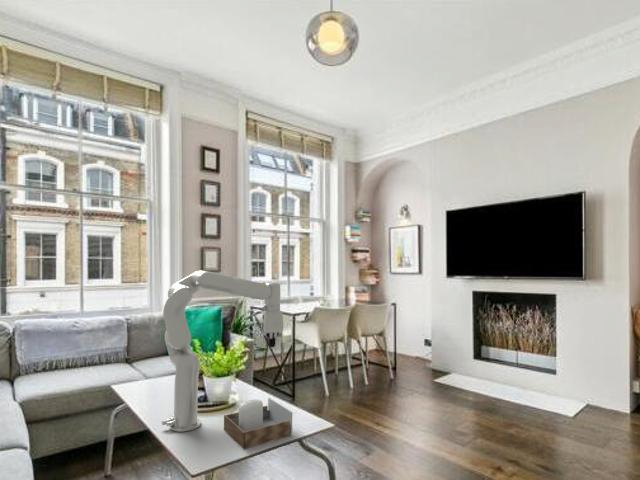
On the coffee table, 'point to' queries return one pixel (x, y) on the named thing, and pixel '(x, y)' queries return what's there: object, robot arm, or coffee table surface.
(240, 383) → the coffee table surface
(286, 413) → the sliding tray
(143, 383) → the coffee table surface
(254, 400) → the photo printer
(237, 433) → the walnut housing
